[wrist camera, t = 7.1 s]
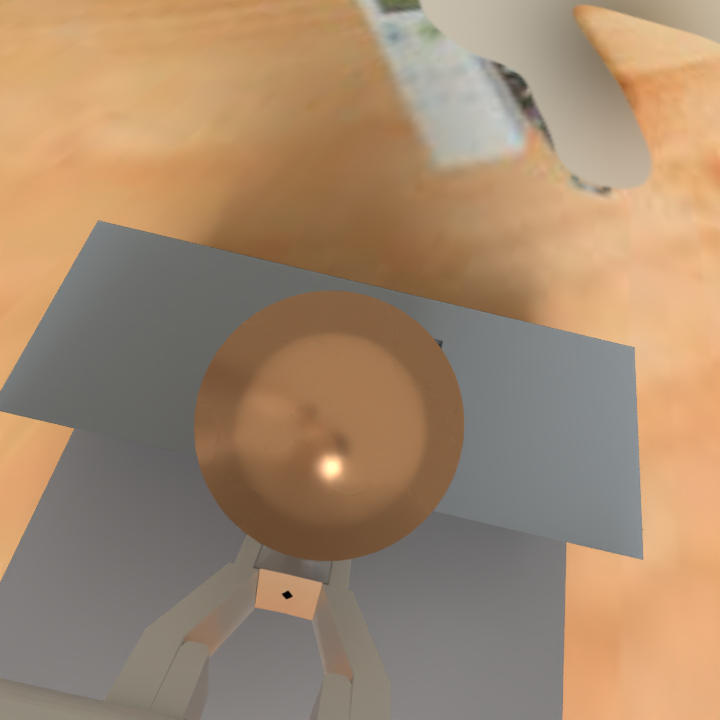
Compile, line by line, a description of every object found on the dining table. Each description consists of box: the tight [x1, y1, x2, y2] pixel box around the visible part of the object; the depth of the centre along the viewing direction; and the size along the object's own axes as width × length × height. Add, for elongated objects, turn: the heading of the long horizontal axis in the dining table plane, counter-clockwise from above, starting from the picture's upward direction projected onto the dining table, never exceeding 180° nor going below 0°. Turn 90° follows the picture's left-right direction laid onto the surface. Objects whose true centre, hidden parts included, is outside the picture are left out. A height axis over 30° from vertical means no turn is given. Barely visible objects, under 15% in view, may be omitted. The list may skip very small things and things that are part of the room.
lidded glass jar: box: [194, 291, 464, 561], centre depth 11 cm, size 5×5×9 cm
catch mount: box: [0, 220, 643, 720], centre depth 13 cm, size 22×17×6 cm
